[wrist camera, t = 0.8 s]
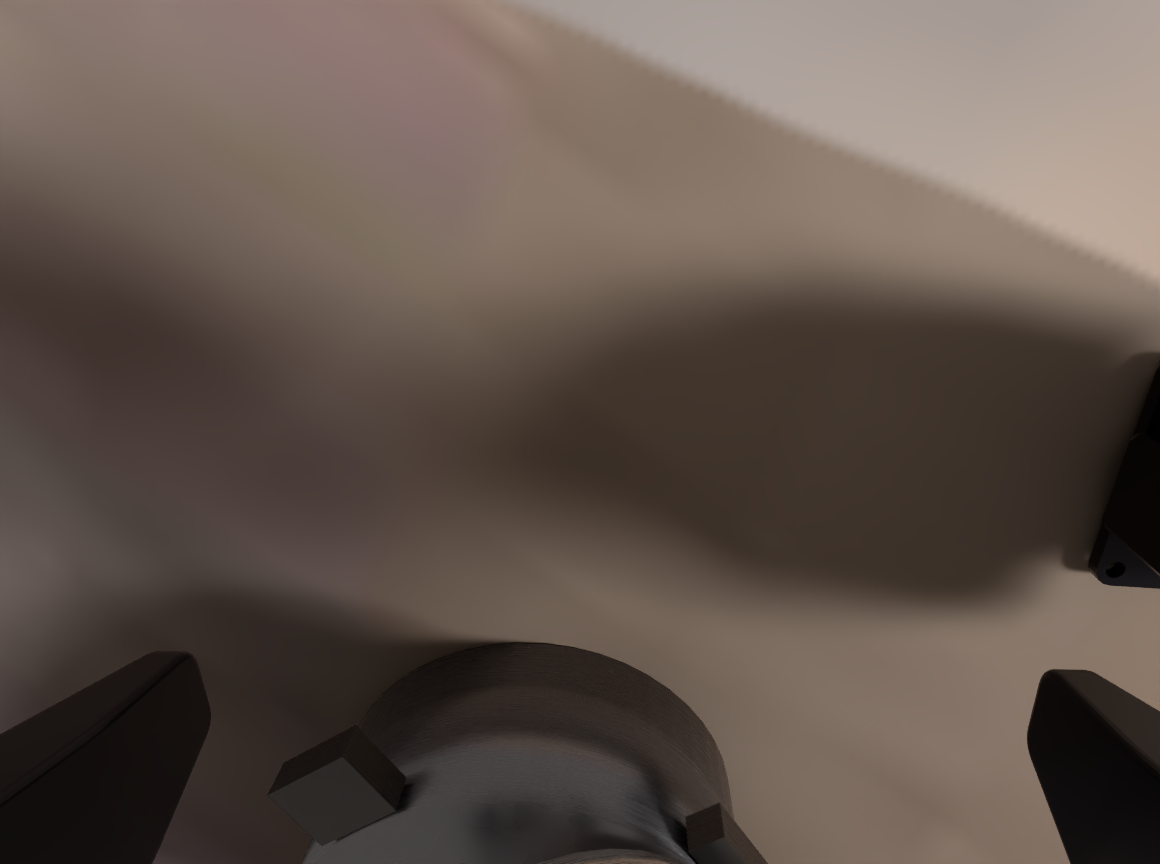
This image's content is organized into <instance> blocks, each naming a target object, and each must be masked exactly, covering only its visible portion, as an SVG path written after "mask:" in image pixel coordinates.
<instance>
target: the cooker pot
mask: <svg viewBox="0 0 1160 864" xmlns="http://www.w3.org/2000/svg"><path fill="white" fill-rule="evenodd" d="M268 796H269V797H270V798H271V799H272V800H273V801H274V802H275V803H276V804H277V805H278V806H279V807H280V808H281V809H282V810H284V811H285V812H286V813H287V814H288V815H289V816H290V817H291V818H292V819H293V820H294V821H295V822H296V823H297V824H298V825H299V826H301V827H302V828H303V829H304V830H305V831H306V832H307V833H308V834H309V835H310V836H311V837H312V839H311V842H310V844H309V847H308V849H307V851H306V854H305V856H304V858H303V861H302V863H301V864H538V863H541V862H545V861H548V860H552V859H555V858H559V857H562V856H566V855H569V854H573V853H578V852H586V851H594V850H602V849H632V850H644V851H648V852H652V853H657V854H661V855H666V856H670V857H672V858H674V859H677V860H679V861H681V862H683V863H686V864H768V863H767V862H766V860H765V859H764V858H763V857H762V855H761V854H760V853H759V852H758V850H757V849H756V848H755V846H754V845H753V844H752V843H751V841H750V840H749V839H748V838H747V836H746V835H745V834H744V833H743V831H742V830H741V829H740V827H739V826H738V825H737V824H736V822H735V821H734V816H733V809H732V803H731V797H730V790H729V784H728V778H727V774H726V770H725V766H724V762H723V758H722V756H721V754H720V752H719V749H718V747H717V745H716V743H715V740H714V739H713V737H712V736H711V734H710V733H709V731H708V730H707V728H706V727H705V725H704V723H703V722H702V721H701V720H700V719H699V717H698V716H697V715H696V714H695V713H694V712H693V711H692V710H691V708H690V707H689V706H688V705H687V704H686V703H685V702H683V701H682V700H681V699H680V698H679V697H678V696H676V695H675V694H674V693H673V692H672V691H671V690H670V689H668V688H667V687H665V686H664V685H662V684H661V683H659V682H657V681H656V680H654V679H653V678H651V677H650V676H648V675H646V674H644V673H642V672H640V671H639V670H637V669H635V668H633V667H631V666H629V665H627V664H624V663H622V662H619V661H616V660H614V659H611V658H608V657H606V656H603V655H600V654H596V653H592V652H588V651H584V650H580V649H576V648H572V647H564V646H557V645H550V644H534V643H512V644H498V645H489V646H484V647H478V648H473V649H467V650H464V651H460V652H457V653H454V654H451V655H448V656H444V657H441V658H439V659H437V660H435V661H432V662H430V663H428V664H426V665H424V666H421V667H419V668H418V669H416V670H414V671H413V672H411V673H410V674H408V675H406V676H405V677H403V678H402V679H400V680H399V681H398V682H396V683H395V684H394V685H393V686H392V687H390V688H389V689H388V690H387V691H386V692H385V693H383V694H382V696H381V697H380V698H379V699H378V700H377V701H376V702H375V704H374V705H373V706H372V707H371V708H370V709H369V711H368V713H367V714H366V716H365V717H364V719H363V721H362V722H361V724H360V726H359V728H358V727H357V726H356V725H355V726H354V727H352V728H350V729H348V730H346V731H344V732H342V733H340V734H338V735H336V736H334V737H332V738H331V739H329V740H327V741H325V742H323V743H321V744H319V745H317V746H315V747H313V748H311V749H309V750H308V751H306V752H304V753H302V754H300V755H298V756H296V757H294V758H292V759H290V760H288V761H286V762H285V763H284V764H283V766H282V768H281V770H280V772H279V774H278V776H277V777H276V779H275V781H274V783H273V785H272V787H271V789H270V791H269V793H268Z"/></svg>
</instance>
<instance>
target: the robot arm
mask: <svg viewBox="0 0 1160 864" xmlns="http://www.w3.org/2000/svg"><path fill="white" fill-rule="evenodd" d="M1115 562H1117V563H1116V564H1115V566H1114V567H1112V568H1111V569H1108V570H1106V569H1107V567H1108V566H1109V565H1110V564H1112V563H1115ZM1088 567H1089V570H1090V572H1091V573H1092V574H1093V575H1094V576H1095V577H1096V578H1097V579H1098V580H1099V581H1100V582H1102V583H1103V584H1106V585H1112V586H1128V587H1143V588H1159V589H1160V366H1159V368H1158V370H1157V371H1156V373H1155V375H1154V378H1153V381H1152V384H1151V387H1150V390H1149V392H1148V395H1147V398H1146V401H1145V404H1144V407H1143V409H1142V412H1141V415H1140V418H1139V421H1138V424H1137V426H1136V429H1135V432H1134V435H1133V438H1132V439H1131V440H1130V442H1129V444H1128V447H1127V450H1126V453H1125V455H1124V458H1123V461H1122V464H1121V467H1120V470H1119V473H1118V475H1117V478H1116V481H1115V484H1114V487H1113V490H1112V492H1111V495H1110V498H1109V501H1108V504H1107V507H1106V509H1105V512H1104V515H1103V518H1102V526H1101V528H1100V531H1099V534H1098V537H1097V540H1096V543H1095V545H1094V548H1093V551H1092V554H1091V557H1090V560H1089V565H1088ZM210 719H211V712H210V706H209V702H208V699H207V695H206V691H205V688H204V684H203V680H202V677H201V673H200V669H199V666H198V663H197V660H196V658H195V657H194V656H193V655H192V654H191V653H188V652H183V651H155V652H151V653H149V654H147V655H145V656H143V657H141V658H140V659H138V660H136V661H134V662H132V663H130V664H129V665H127V666H125V667H123V668H121V669H119V670H117V671H116V672H114V673H112V674H110V675H108V676H106V677H105V678H103V679H101V680H99V681H97V682H95V683H94V684H92V685H90V686H88V687H86V688H84V689H83V690H81V691H79V692H77V693H75V694H73V695H72V696H70V697H68V698H66V699H64V700H62V701H61V702H59V703H57V704H55V705H53V706H51V707H50V708H48V709H46V710H44V711H42V712H40V713H39V714H37V715H35V716H33V717H31V718H29V719H28V720H26V721H24V722H22V723H20V724H18V725H17V726H15V727H13V728H11V729H9V730H7V731H6V732H4V733H2V734H0V864H152V863H153V861H154V858H155V856H156V854H157V852H158V850H159V847H160V845H161V843H162V840H163V838H164V836H165V833H166V831H167V829H168V826H169V824H170V821H171V819H172V817H173V814H174V812H175V810H176V807H177V805H178V802H179V800H180V798H181V795H182V793H183V791H184V788H185V786H186V783H187V781H188V779H189V776H190V774H191V772H192V769H193V767H194V764H195V762H196V760H197V757H198V755H199V752H200V750H201V748H202V745H203V743H204V741H205V738H206V736H207V733H208V730H209V726H210ZM1027 744H1028V750H1029V754H1030V757H1031V760H1032V763H1033V765H1034V768H1035V771H1036V773H1037V776H1038V779H1039V781H1040V784H1041V787H1042V789H1043V792H1044V795H1045V797H1046V800H1047V803H1048V805H1049V808H1050V811H1051V813H1052V816H1053V819H1054V821H1055V824H1056V827H1057V829H1058V832H1059V835H1060V837H1061V840H1062V843H1063V845H1064V848H1065V851H1066V853H1067V856H1068V859H1069V861H1070V864H1160V711H1158V710H1156V709H1155V708H1153V707H1151V706H1150V705H1148V704H1146V703H1145V702H1143V701H1141V700H1140V699H1138V698H1136V697H1135V696H1133V695H1131V694H1130V693H1128V692H1126V691H1125V690H1123V689H1121V688H1120V687H1118V686H1116V685H1114V684H1113V683H1111V682H1109V681H1108V680H1106V679H1104V678H1103V677H1101V676H1099V675H1098V674H1096V673H1094V672H1091V671H1087V670H1065V669H1052V670H1049V671H1047V672H1045V673H1044V674H1043V676H1042V677H1041V680H1040V682H1039V686H1038V690H1037V694H1036V698H1035V702H1034V706H1033V710H1032V714H1031V718H1030V722H1029V726H1028V732H1027Z"/></svg>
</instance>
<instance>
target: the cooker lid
mask: <svg viewBox="0 0 1160 864" xmlns="http://www.w3.org/2000/svg"><path fill="white" fill-rule="evenodd" d="M538 864H686V863H683V862H681V861H679V860H677V859H674V858H672V857H670V856H666V855H661V854H657V853H652V852H648V851H644V850H632V849H602V850H594V851H586V852H578V853H573V854H569V855H566V856H562V857H559V858H555V859H552V860H548V861H545V862H541V863H538Z"/></svg>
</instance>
